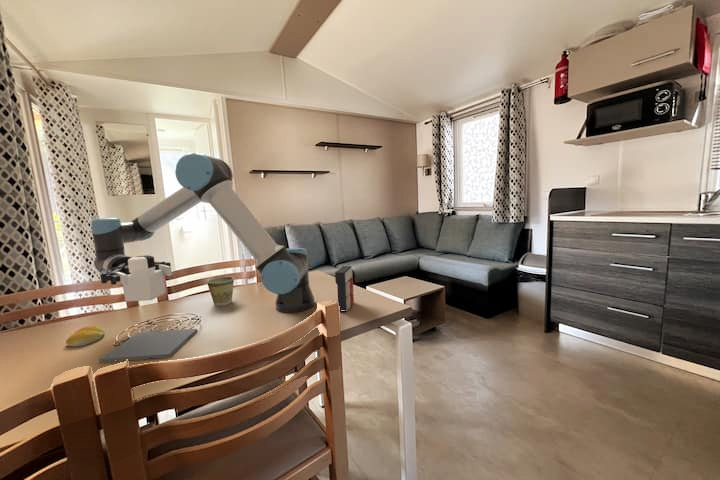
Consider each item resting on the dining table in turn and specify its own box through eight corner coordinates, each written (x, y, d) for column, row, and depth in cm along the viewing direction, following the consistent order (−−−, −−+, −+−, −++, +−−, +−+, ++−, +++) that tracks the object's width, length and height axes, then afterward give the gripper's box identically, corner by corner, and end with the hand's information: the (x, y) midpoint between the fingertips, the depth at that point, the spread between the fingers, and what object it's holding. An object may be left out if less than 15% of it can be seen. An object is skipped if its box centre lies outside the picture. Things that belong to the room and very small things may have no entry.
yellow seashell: (61, 350, 86) (59, 337, 86) (77, 337, 95) (75, 325, 94) (96, 344, 89) (94, 331, 89) (109, 332, 98) (107, 321, 97)
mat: (197, 331, 95) (197, 328, 95) (169, 357, 79) (169, 354, 79) (139, 335, 94) (138, 332, 94) (99, 362, 78) (98, 359, 78)
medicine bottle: (141, 293, 88) (135, 254, 86) (166, 292, 89) (161, 253, 87) (124, 302, 81) (118, 259, 79) (151, 300, 82) (145, 258, 80)
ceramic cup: (229, 306, 117) (227, 282, 116) (204, 307, 117) (202, 283, 116) (242, 296, 130) (240, 274, 129) (220, 297, 130) (218, 275, 129)
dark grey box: (348, 312, 107) (346, 272, 105) (336, 312, 108) (334, 272, 106) (354, 302, 118) (353, 265, 116) (344, 301, 118) (342, 265, 116)
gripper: (162, 270, 104) (192, 278, 91) (76, 287, 86) (99, 300, 73) (159, 250, 103) (189, 255, 90) (72, 262, 85) (94, 270, 72)
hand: (149, 275), depth 81 cm, fingers closed on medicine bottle, 10 cm apart
